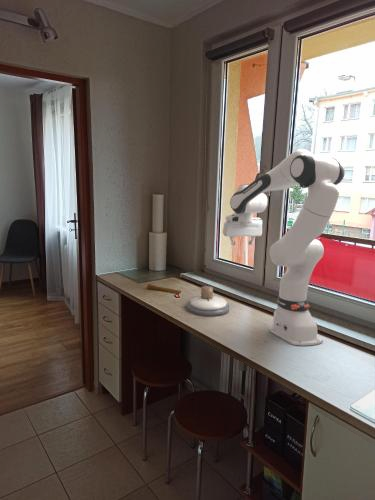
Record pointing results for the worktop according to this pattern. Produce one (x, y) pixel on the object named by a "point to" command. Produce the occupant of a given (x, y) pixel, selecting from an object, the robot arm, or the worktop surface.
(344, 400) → the worktop surface
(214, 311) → the base
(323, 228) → the robot arm
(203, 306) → the dial
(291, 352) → the worktop surface
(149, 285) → the primitive tool
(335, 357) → the worktop surface
